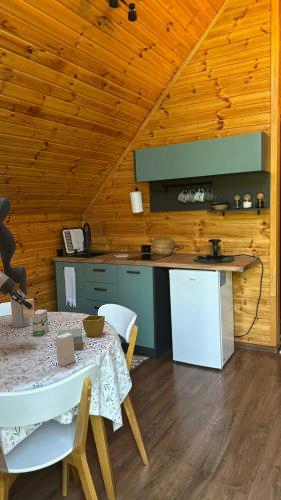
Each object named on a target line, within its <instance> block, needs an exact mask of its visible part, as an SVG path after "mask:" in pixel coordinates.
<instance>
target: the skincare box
mask: <svg viewBox="0 0 281 500" xmlns="http://www.w3.org/2000/svg"><path fill="white" fill-rule="evenodd" d="M55 341H56V343H55V344H56V345H55V346H56V356H57V357H56V358H57V364H58V365H60V366H63V367H64V366H68V365H69V364H72V363H73V362H75V361H76V358H75V357H76V355H75V350H74V342H73V334H70V333H65V334H62V335H59V336H58V335H57V336H55Z"/></svg>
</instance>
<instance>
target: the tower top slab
mask: <svg viewBox="0 0 281 500" xmlns="http://www.w3.org/2000/svg"><path fill="white" fill-rule="evenodd" d="M65 333H70V334H73V342H74V344H80V343H83V328H71V329H61V330H60V329H59V330H58V331H57V336H59V335H62V334H65Z"/></svg>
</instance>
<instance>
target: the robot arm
mask: <svg viewBox="0 0 281 500" xmlns="http://www.w3.org/2000/svg"><path fill="white" fill-rule="evenodd" d="M11 209H12V205H11V201H10V199H9V198H7V197H1V196H0V259H1V263H2V267H3V268H2V269H3V272H2V271H0V294H2V295H3V296H7V295H9V299H10V310H11V319H12V320H11V321H12V327H13V328H15V329H17V328H19V329H20V328H26V327H29V326H30V325H31V321H30V320H31V318H25V319H24V314H23V305H24V306H26V307H27V308H28V309H31V308H32V305H31V304H30V303H29V302H28V301H26V300H25V299H29V298H28V285H27V284H28V283H27V282H28V279H27V270H26V268H25V267H24V266H11V261H12V258H13V256H14V255H15V252H16V250H17V244H16V239H15V236H14V234H13V232H12V231H11V230H10V229H9V228H8V226H7V225H6V224H5V223H4V221H5V220H6V219H7V217H8V215H9V214H10V211H11ZM16 284H17V285H18V284H19V286H18V287H17V288H16V287H15V286H16Z"/></svg>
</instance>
